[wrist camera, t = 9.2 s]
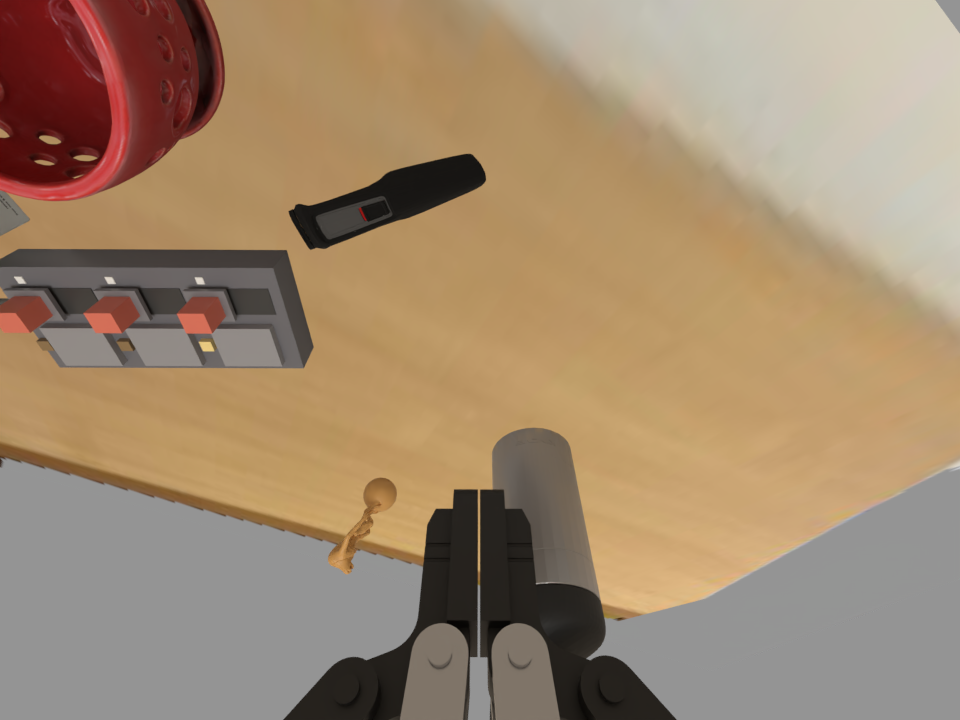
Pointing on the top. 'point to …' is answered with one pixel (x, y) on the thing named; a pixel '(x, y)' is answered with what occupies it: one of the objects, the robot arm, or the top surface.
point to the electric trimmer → (387, 200)
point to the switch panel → (167, 307)
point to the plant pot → (101, 89)
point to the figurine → (363, 522)
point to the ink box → (10, 214)
